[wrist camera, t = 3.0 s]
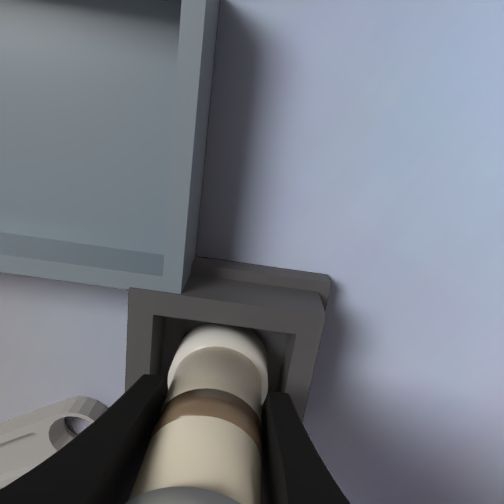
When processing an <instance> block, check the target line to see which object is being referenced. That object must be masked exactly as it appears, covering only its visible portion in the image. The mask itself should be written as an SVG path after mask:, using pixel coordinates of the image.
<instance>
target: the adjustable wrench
mask: <svg viewBox="0 0 504 504" xmlns="http://www.w3.org/2000/svg"><path fill="white" fill-rule="evenodd" d="M107 409H108V408H107V407H106V406H105V405H104V404H103V403H101V402H100V401H98V400H96V399H93V398H90V397H83V396H77V397H72V398H68V399H66V400H63V401H60V402H57V403H55V404H52V405H49V406H46V407H44V408H41V409H38V410H35V411H33V412H30V413H27V414H24V415H22V416H19V417H16V418H13V419H11V420H8V421H5V422H2V423H0V488H3V487H5V486H7V485H8V484H10V483H12V482H13V481H15V480H16V479H18V478H19V477H21V476H22V475H24V474H25V473H27V472H29V471H30V470H32V469H33V468H35V467H36V466H38V465H39V464H40V463H42V462H43V461H45V460H46V459H47V458H49V457H50V456H52V455H53V454H54V453H56V452H57V451H58V450H60V449H61V448H62V447H64V446H65V445H66V444H67V443H69V442H70V441H71V440H72V439H74V438H75V437H76V436H77V435H76V434H75V433H73V432H71V430H70V429H69V428H68V427H67V426H66V423H65V421H64V418H65V417H68V416H71V417H79V418H82V419H85V420H87V421H88V422H90V423H93V422H94V421H95V420H96V419H98V418H99V417H100V416H101V415H102V414H103V413H104V412H105V411H106V410H107Z"/></svg>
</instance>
